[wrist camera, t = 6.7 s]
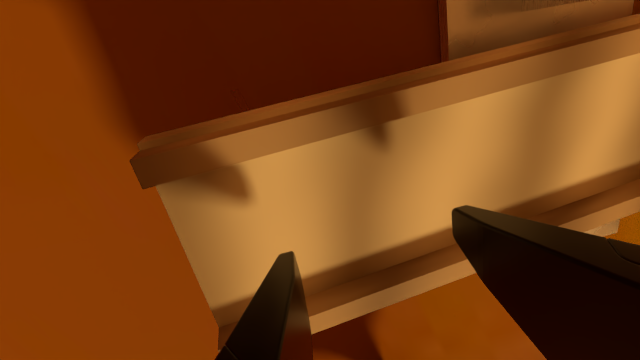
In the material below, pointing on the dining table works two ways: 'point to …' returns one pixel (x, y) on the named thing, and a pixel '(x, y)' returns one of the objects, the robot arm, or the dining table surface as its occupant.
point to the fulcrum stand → (519, 29)
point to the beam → (403, 171)
